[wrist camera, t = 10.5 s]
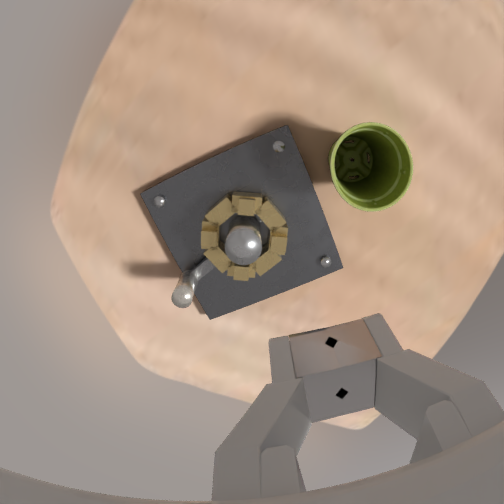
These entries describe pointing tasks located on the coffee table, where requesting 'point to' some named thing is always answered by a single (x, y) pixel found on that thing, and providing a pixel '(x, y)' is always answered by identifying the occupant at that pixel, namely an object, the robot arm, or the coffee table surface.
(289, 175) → the flange plate
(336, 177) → the plant pot
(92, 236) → the coffee table surface
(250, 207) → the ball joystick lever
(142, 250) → the coffee table surface
